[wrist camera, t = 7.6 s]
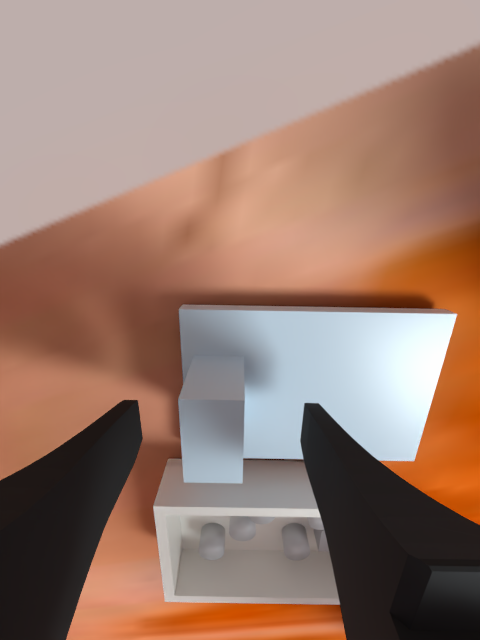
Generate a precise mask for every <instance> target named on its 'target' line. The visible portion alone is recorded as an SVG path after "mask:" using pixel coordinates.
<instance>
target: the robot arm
mask: <svg viewBox="0 0 480 640" xmlns="http://www.w3.org/2000/svg"><path fill="white" fill-rule="evenodd" d="M142 439H143V438H142V430H141V422H140V414H139V407H138V400H123V401H122V402H120V403H119V404H117V405H116V406H115V407H113V408H112V409H111V410H109V411H108V412H107V413H105V414H104V415H103V416H102V417H100V418H99V419H98V420H96V421H95V422H94V423H92V424H91V425H90V426H88V427H87V428H86V429H84V430H83V431H81V432H80V433H78V434H77V435H76V436H74V437H73V438H71V439H70V440H68V441H67V442H65V443H64V444H63V445H61V446H60V447H58V448H57V449H55V450H54V451H52V452H50V453H49V454H47V455H46V456H44V457H42V458H41V459H39V460H37V461H35V462H34V463H32V464H30V465H29V466H27V467H25V468H23V469H21V470H20V471H18V472H16V473H14V474H12V475H10V476H8V477H6V478H4V479H2V480H1V481H0V640H66V637H67V634H68V631H69V628H70V625H71V622H72V619H73V616H74V613H75V610H76V606H77V603H78V600H79V597H80V594H81V591H82V588H83V585H84V583H85V580H86V577H87V574H88V571H89V568H90V565H91V563H92V560H93V557H94V554H95V552H96V549H97V546H98V543H99V541H100V538H101V535H102V533H103V530H104V528H105V525H106V523H107V521H108V518H109V516H110V514H111V512H112V510H113V507H114V505H115V503H116V501H117V499H118V497H119V495H120V493H121V491H122V488H123V486H124V484H125V482H126V480H127V478H128V476H129V474H130V471H131V469H132V467H133V465H134V463H135V460H136V457H137V454H138V451H139V448H140V445H141V442H142ZM300 443H301V448H302V454H303V459H304V464H305V468H306V471H307V474H308V478H309V481H310V484H311V487H312V491H313V494H314V497H315V500H316V503H317V507H318V510H319V513H320V516H321V520H322V523H323V527H324V531H325V535H326V539H327V544H328V548H329V553H330V558H331V562H332V567H333V572H334V577H335V582H336V587H337V592H338V597H339V602H340V607H341V612H342V618H343V623H344V628H345V634H346V639H347V640H480V525H478V524H476V523H474V522H472V521H470V520H468V519H467V518H465V517H463V516H461V515H459V514H458V513H456V512H454V511H452V510H451V509H449V508H447V507H446V506H444V505H442V504H440V503H439V502H437V501H436V500H434V499H432V498H431V497H429V496H427V495H426V494H424V493H423V492H421V491H420V490H418V489H417V488H415V487H414V486H412V485H411V484H409V483H408V482H406V481H405V480H403V479H402V478H401V477H399V476H398V475H396V474H395V473H394V472H392V471H391V470H390V469H389V468H387V467H386V466H385V465H383V464H382V463H381V462H379V461H378V460H377V459H376V458H375V457H373V456H372V455H371V454H370V453H369V452H368V451H366V450H365V449H364V448H363V447H362V446H361V445H360V444H358V443H357V442H356V441H355V440H354V439H353V438H352V437H351V436H350V435H349V434H348V433H347V432H346V431H345V430H344V429H343V428H342V427H341V426H340V425H339V424H338V423H337V422H336V421H335V420H334V419H333V418H332V417H331V416H330V415H329V414H328V413H327V412H326V410H325V409H324V408H323V407H322V406H321V405H320V404H319V403H304V411H303V420H302V429H301V438H300Z"/></svg>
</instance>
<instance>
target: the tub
mask: <svg viewBox="0 0 480 640" xmlns="http://www.w3.org/2000/svg"><path fill="white" fill-rule="evenodd" d="M153 509H154V517H155V525H156V533H157V541H158V549H159V557H160V565H161V573H162V582H163V590H164V598H165V602H207V603H268V604H330V605H340V602H339V597H338V592H337V587H336V582H335V577H334V572H333V567H332V562H331V558H330V553H329V548H328V544H327V539H326V535H325V531H324V527H323V523H322V520H321V516H320V513H319V510H318V507H317V503H316V500H315V497H314V494H313V491H312V487H311V484H310V481H309V478H308V474H307V471H306V468H305V464H304V461H292V460H243V483H184V478H183V464H182V459H168V460H167V464H166V467H165V470H164V473H163V476H162V480H161V483H160V486H159V489H158V492H157V496H156V499H155V502H154V505H153Z"/></svg>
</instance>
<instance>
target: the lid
mask: <svg viewBox="0 0 480 640" xmlns="http://www.w3.org/2000/svg"><path fill="white" fill-rule="evenodd" d="M456 316H457V314H456V313H453V312H451V311H449V310H446V309H421V308H362V307H304V306H245V305H187V304H182V306H181V307H180V308H179V323H180V339H181V356H182V372H183V387H182V390H181V393H180V395H179V398H178V406H179V420H180V435H181V449H182V464H183V478H184V483H243V458H261V459H303V454H302V448H301V443H300V438H301V429H302V420H303V411H304V403H319V404H320V405H321V406H322V407H323V408H324V409H325V410H326V412H327V413H328V414H329V415H330V416H331V417H332V418H333V419H334V420H335V421H336V422H337V423H338V424H339V425H340V426H341V427H342V428H343V429H344V430H345V431H346V432H347V433H348V434H349V435H350V436H351V437H352V438H353V439H354V440H355V441H356V442H357V443H358V444H360V445H361V446H362V447H363V448H364V449H365V450H366V451H368V452H369V453H370V454H371V455H372V456H373V457H375V458H376V459H377V460H379V461H414V460H415V457H416V453H417V450H418V446H419V443H420V439H421V436H422V433H423V429H424V426H425V422H426V419H427V415H428V412H429V409H430V405H431V402H432V398H433V395H434V392H435V388H436V385H437V381H438V378H439V374H440V371H441V368H442V364H443V361H444V357H445V354H446V350H447V347H448V344H449V340H450V337H451V333H452V330H453V327H454V323H455V320H456Z"/></svg>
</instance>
